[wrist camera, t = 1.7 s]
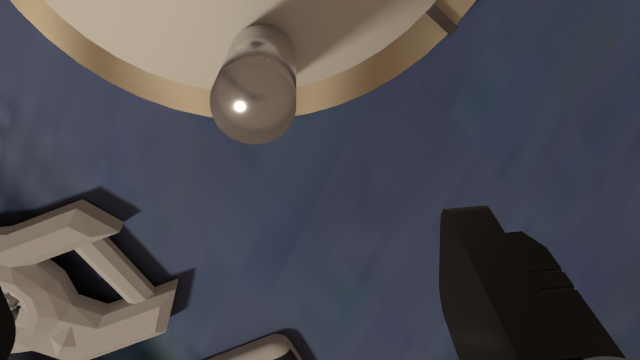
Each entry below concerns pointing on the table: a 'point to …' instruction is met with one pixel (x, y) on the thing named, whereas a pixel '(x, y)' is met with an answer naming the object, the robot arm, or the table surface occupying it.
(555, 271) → the robot arm
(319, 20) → the dial
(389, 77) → the dial base
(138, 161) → the table surface
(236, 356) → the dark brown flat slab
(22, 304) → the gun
